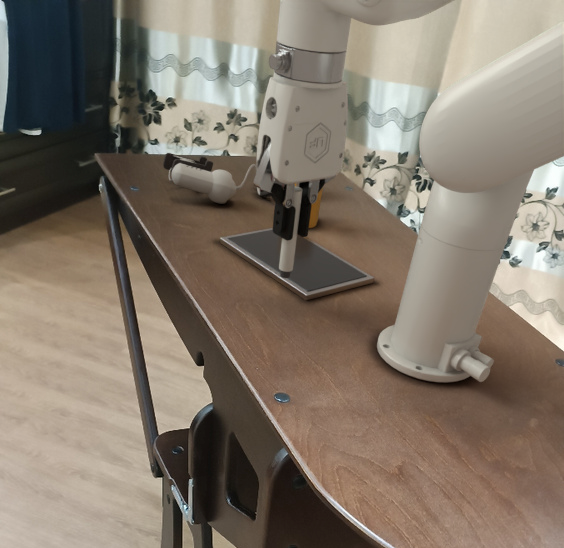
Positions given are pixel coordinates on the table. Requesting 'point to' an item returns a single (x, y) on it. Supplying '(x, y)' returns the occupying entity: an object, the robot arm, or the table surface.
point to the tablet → (298, 264)
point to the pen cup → (315, 210)
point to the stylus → (290, 245)
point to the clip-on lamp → (204, 177)
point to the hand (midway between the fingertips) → (290, 233)
